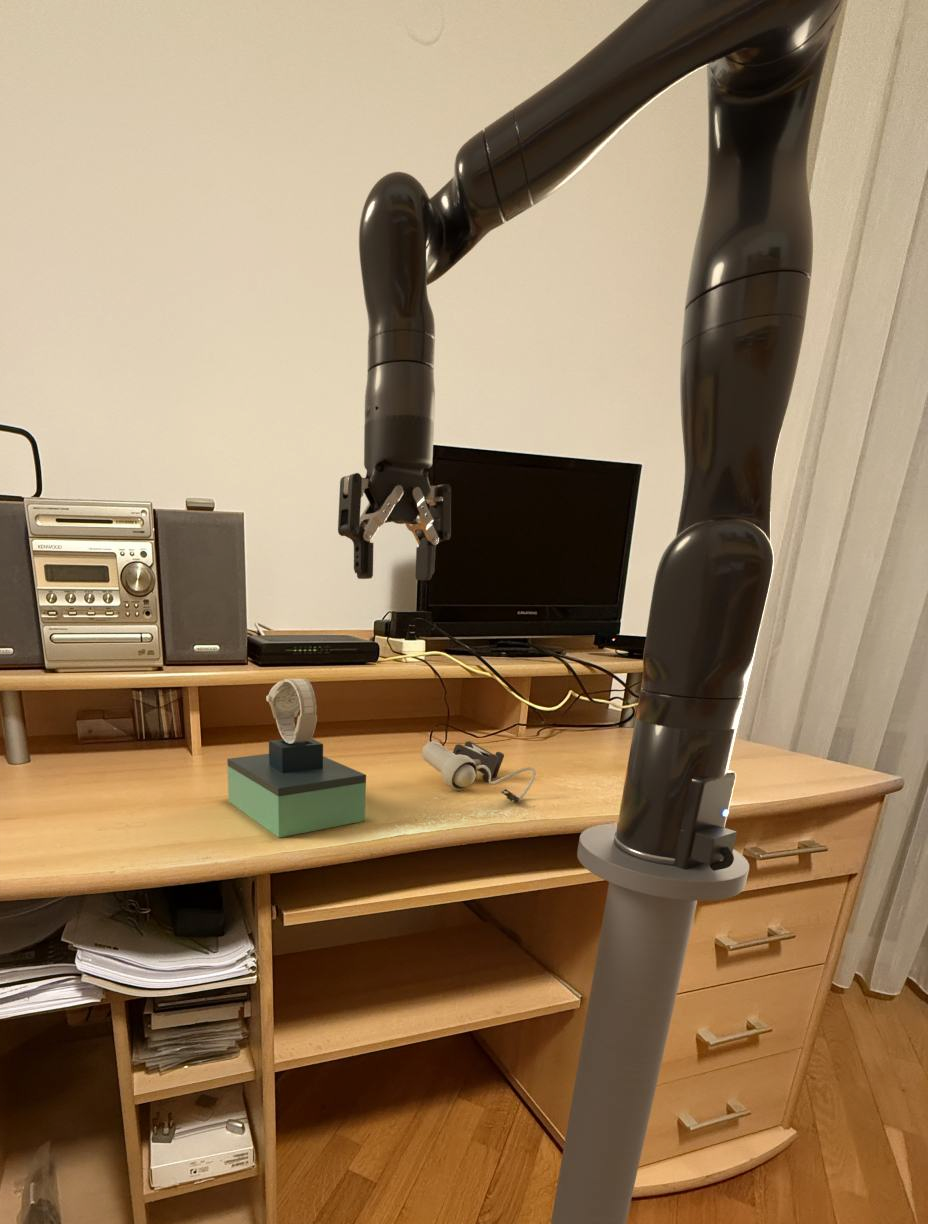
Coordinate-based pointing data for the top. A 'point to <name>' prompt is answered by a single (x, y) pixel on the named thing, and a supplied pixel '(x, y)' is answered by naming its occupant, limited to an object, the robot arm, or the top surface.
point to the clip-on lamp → (468, 765)
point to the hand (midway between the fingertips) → (395, 579)
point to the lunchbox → (296, 795)
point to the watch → (297, 742)
